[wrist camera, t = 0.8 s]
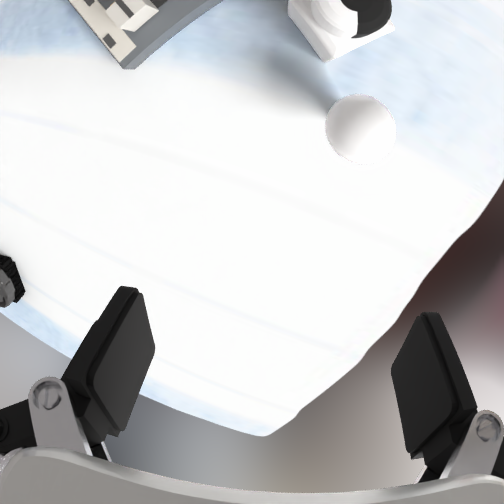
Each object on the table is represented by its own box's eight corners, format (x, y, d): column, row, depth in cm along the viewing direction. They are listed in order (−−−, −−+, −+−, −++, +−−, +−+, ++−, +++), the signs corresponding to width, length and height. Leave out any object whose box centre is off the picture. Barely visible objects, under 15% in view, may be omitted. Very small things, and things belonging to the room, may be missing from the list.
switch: (144, -6, 22) (130, -13, 19) (159, 10, 24) (145, 4, 20) (120, 15, 24) (104, 11, 21) (134, 31, 25) (118, 28, 22)
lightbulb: (305, 126, 32) (315, 145, 23) (335, 80, 29) (357, 79, 20) (352, 155, 33) (378, 187, 24) (381, 112, 30) (419, 127, 21)
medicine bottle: (339, -13, 23) (364, -51, 13) (376, 37, 26) (418, 21, 16) (286, 13, 26) (287, -20, 15) (323, 64, 28) (344, 54, 18)
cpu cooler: (-13, 303, 48) (-29, 264, 43) (1, 288, 53) (-13, 249, 47) (15, 313, 47) (-2, 272, 42) (30, 296, 52) (15, 255, 47)
